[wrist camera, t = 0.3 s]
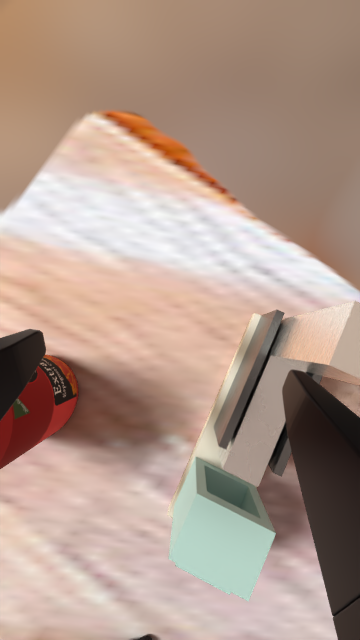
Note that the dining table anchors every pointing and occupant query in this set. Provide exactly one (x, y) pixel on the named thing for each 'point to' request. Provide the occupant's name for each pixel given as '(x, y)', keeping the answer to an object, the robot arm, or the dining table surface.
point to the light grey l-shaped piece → (284, 355)
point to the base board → (216, 414)
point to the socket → (220, 530)
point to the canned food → (38, 409)
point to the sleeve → (244, 387)
